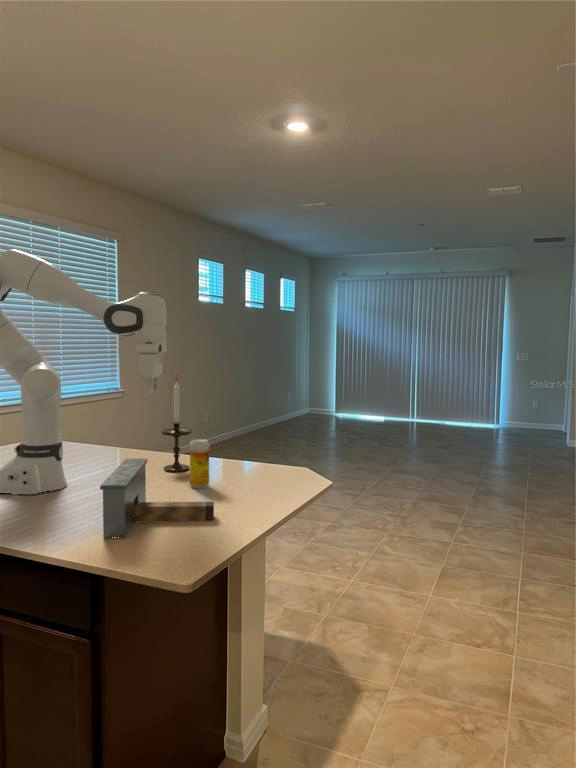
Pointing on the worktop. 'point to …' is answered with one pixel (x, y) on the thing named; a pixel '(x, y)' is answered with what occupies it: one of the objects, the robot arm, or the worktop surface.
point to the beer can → (199, 463)
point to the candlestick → (176, 435)
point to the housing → (123, 497)
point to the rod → (174, 511)
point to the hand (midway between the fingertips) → (152, 391)
